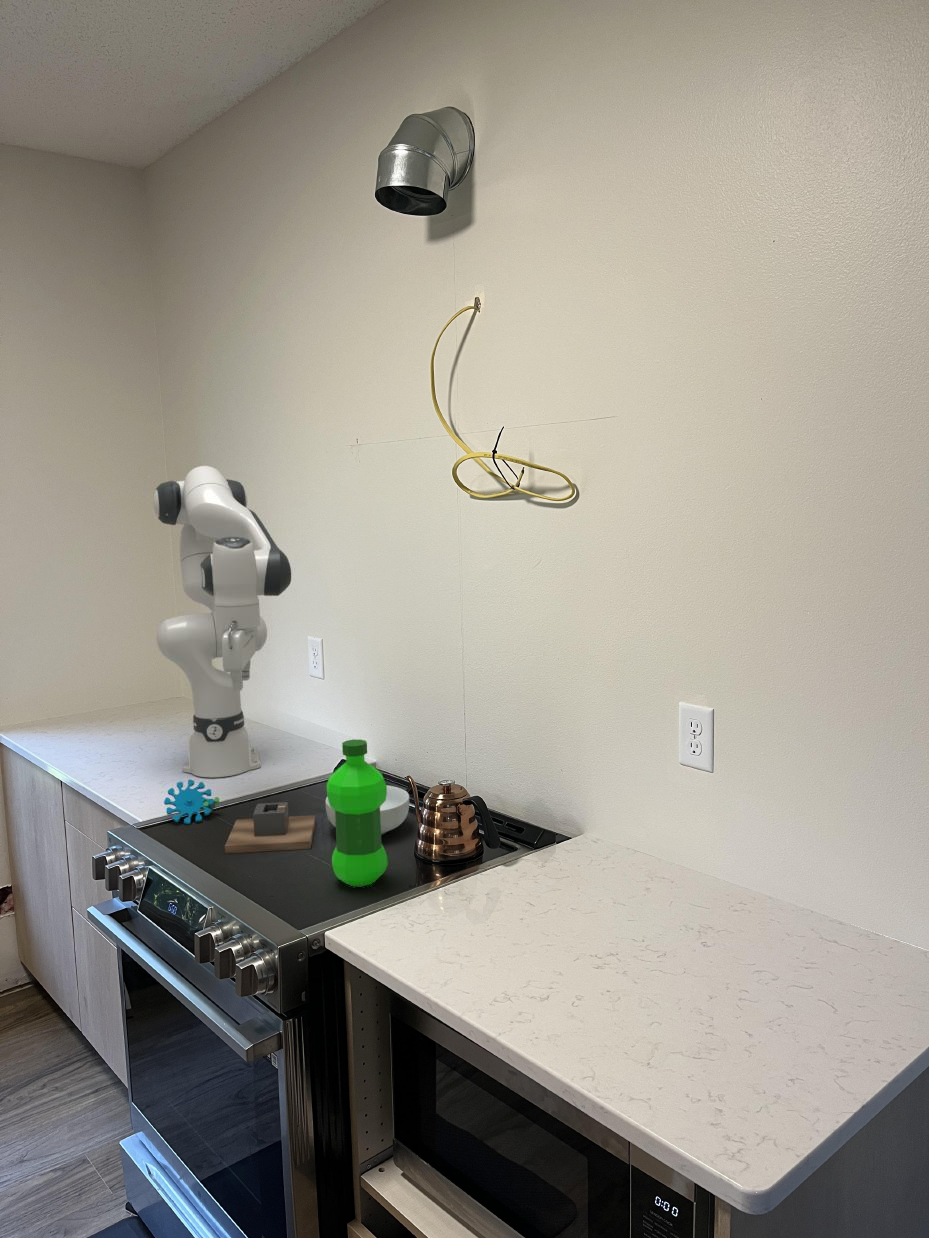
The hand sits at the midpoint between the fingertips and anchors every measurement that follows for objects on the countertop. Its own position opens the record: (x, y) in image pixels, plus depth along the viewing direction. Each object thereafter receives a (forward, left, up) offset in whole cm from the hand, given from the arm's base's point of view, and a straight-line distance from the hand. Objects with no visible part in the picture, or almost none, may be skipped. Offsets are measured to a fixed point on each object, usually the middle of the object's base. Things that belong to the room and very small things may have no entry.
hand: (241, 684), depth 188 cm
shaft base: (+11, +6, -29) cm, 31 cm away
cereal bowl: (+10, +25, -29) cm, 40 cm away
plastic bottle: (+34, +24, -29) cm, 51 cm away
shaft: (+11, +6, -27) cm, 30 cm away
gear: (-2, -12, -29) cm, 32 cm away
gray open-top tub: (+11, +6, -27) cm, 30 cm away
